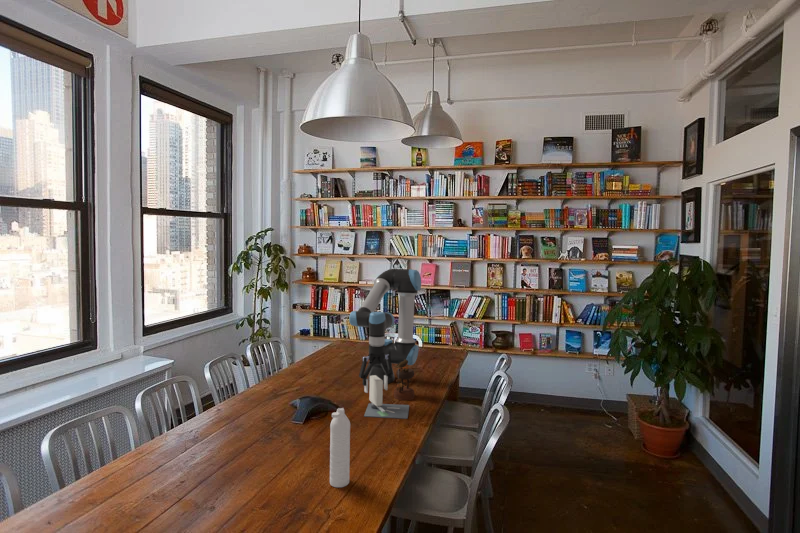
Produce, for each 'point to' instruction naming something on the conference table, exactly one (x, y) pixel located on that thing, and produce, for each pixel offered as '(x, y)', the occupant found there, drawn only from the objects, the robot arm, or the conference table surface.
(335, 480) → the water bottle
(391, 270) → the robot arm
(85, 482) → the conference table surface
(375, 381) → the white flat block
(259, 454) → the conference table surface
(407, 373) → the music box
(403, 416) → the dial board
